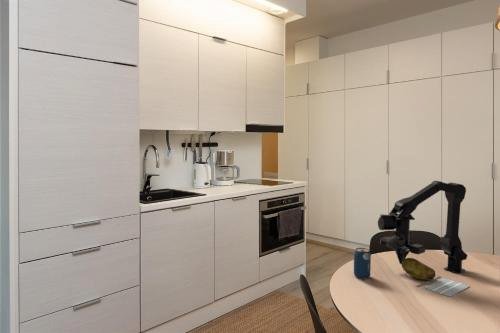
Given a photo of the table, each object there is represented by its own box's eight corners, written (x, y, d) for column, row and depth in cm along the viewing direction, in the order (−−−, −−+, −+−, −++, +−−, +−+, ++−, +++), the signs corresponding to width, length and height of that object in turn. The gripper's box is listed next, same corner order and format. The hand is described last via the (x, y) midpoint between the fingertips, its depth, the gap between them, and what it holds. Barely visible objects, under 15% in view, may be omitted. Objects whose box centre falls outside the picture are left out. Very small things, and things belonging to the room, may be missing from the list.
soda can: (372, 279, 155) (373, 252, 154) (356, 279, 156) (356, 252, 155) (367, 273, 162) (368, 247, 161) (351, 273, 162) (352, 247, 162)
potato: (428, 284, 150) (428, 265, 149) (398, 276, 159) (398, 258, 159) (437, 279, 155) (437, 260, 155) (407, 271, 165) (407, 254, 164)
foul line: (438, 276, 159) (438, 275, 159) (441, 277, 158) (441, 276, 158) (415, 286, 148) (415, 285, 148) (418, 287, 148) (418, 286, 148)
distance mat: (444, 279, 156) (444, 278, 156) (469, 286, 148) (469, 286, 148) (424, 288, 146) (424, 287, 146) (450, 296, 138) (450, 296, 138)
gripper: (373, 227, 165) (372, 261, 166) (411, 237, 150) (410, 274, 151) (388, 224, 171) (386, 256, 173) (426, 233, 156) (425, 268, 157)
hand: (401, 263), depth 163 cm, fingers closed
